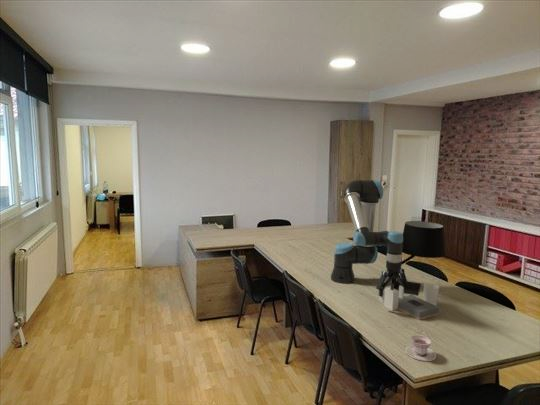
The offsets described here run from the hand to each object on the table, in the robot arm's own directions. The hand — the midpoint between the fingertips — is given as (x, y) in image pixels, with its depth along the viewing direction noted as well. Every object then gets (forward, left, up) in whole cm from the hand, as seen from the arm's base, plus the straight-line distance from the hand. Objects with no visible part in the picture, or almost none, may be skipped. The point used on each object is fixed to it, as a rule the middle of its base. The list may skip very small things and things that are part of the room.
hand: (391, 300), depth 196 cm
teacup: (+39, -23, -5) cm, 46 cm away
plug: (0, 0, -4) cm, 4 cm away
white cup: (+5, +24, -4) cm, 25 cm away
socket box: (+8, +9, -4) cm, 13 cm away
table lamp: (-14, +35, -4) cm, 38 cm away
